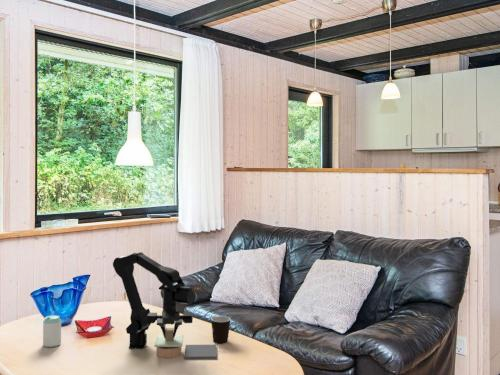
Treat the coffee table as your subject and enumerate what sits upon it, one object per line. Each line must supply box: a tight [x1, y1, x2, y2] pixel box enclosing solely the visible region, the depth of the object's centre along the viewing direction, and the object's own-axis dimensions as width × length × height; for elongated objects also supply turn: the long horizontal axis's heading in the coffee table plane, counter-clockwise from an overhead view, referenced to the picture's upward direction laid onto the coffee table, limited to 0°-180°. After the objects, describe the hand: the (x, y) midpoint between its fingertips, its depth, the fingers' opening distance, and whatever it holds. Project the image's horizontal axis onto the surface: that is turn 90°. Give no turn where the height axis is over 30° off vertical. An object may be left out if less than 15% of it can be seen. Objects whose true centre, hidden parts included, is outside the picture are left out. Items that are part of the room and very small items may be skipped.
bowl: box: [155, 347, 182, 359], centre depth 197 cm, size 10×10×4 cm
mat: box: [183, 344, 218, 360], centre depth 198 cm, size 13×13×1 cm
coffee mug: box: [210, 315, 231, 345], centre depth 214 cm, size 12×9×10 cm
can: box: [42, 314, 62, 348], centre depth 203 cm, size 7×7×12 cm
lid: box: [154, 327, 184, 348], centre depth 197 cm, size 11×11×5 cm
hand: (169, 338), depth 197 cm, fingers closed on lid, 3 cm apart
